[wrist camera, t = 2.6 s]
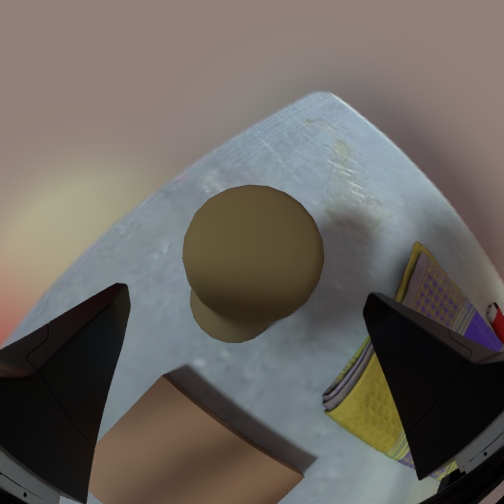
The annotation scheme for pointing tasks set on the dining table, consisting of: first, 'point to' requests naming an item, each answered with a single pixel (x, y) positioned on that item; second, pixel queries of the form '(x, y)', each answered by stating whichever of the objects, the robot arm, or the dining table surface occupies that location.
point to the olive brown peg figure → (250, 261)
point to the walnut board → (183, 457)
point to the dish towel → (370, 372)
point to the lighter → (496, 320)
